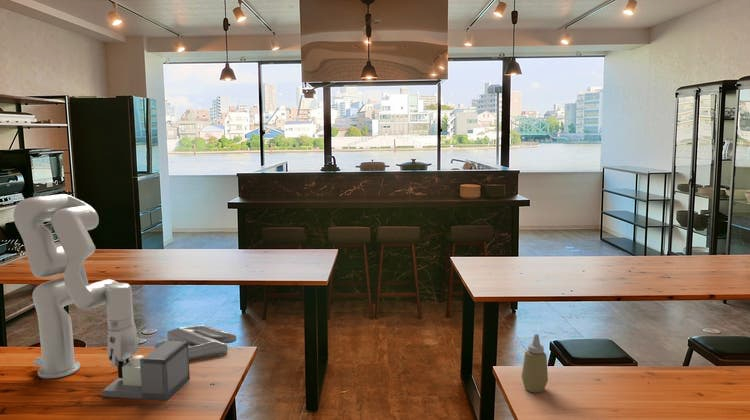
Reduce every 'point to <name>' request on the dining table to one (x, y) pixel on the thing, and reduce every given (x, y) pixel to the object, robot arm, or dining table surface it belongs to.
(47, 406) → the dining table surface
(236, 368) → the dining table surface
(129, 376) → the egg tray
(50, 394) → the dining table surface
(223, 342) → the emblem
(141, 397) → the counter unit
